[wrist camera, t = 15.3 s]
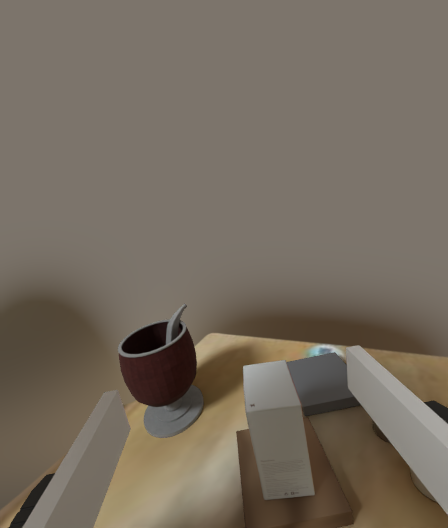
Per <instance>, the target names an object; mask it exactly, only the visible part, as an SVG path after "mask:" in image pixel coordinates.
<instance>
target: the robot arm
mask: <svg viewBox="0 0 448 528" xmlns="http://www.w3.org/2000/svg"><path fill="white" fill-rule="evenodd" d="M346 360H347V379H348V389H349V390H350V391H351V393H352V394H353V395H354V396H355V398H356V399H357V400H358V401H359V403H360V404H361V405H362V407H363V408H364V409H365V410H366V412H367V413H368V414H369V416H370V417H371V418H372V419H373V421H374V422H375V423H376V424H377V426H378V427H379V428H380V430H381V431H382V432H383V433H384V435H385V436H386V437H387V438H388V440H389V441H390V442H391V444H392V445H393V446H394V447H395V449H396V450H397V451H398V452H399V454H400V455H401V456H402V458H403V459H404V460H405V461H406V463H407V464H408V465H409V466H410V468H411V469H412V470H413V472H414V473H415V474H416V475H417V477H418V478H419V479H420V480H421V482H422V483H423V484H424V486H425V487H426V488H427V489H428V491H429V492H430V493H431V494H432V496H433V497H434V498H435V500H436V501H437V502H438V503H439V505H440V506H441V507H442V508H443V510H444V511H445V512H446V514H447V515H448V408H447V407H445V406H443V405H441V404H439V403H437V402H436V401H429V402H422V401H421V400H420V399H419V398H418V397H417V396H416V395H415V394H413V393H412V392H411V391H410V390H409V389H408V388H407V387H405V386H404V385H403V384H402V383H401V382H400V381H399V380H398V379H396V378H395V377H394V376H393V375H392V374H391V373H390V372H389V371H387V370H386V369H385V368H384V367H383V366H382V365H381V364H380V363H378V362H377V361H376V360H375V359H374V358H373V357H372V356H371V355H369V354H368V353H367V352H366V351H365V350H364V349H363V348H362V347H360V346H359V345H358V346H352V347H347V348H346ZM129 432H130V425H129V422H128V419H127V416H126V413H125V410H124V407H123V404H122V401H121V398H120V395H119V392H118V390H114V391H109V392H104V394H103V395H102V397H101V399H100V400H99V402H98V404H97V405H96V407H95V408H94V410H93V412H92V414H91V415H90V417H89V419H88V420H87V422H86V424H85V425H84V427H83V428H82V430H81V432H80V433H79V435H78V437H77V438H76V440H75V442H74V443H73V445H72V446H71V448H70V450H69V451H68V453H67V455H66V456H65V458H64V460H63V461H62V463H61V465H60V466H59V468H58V470H57V471H56V473H54V474H49V475H46V476H45V477H44V478H43V479H42V480H41V481H40V483H39V484H38V485H37V486H36V487H35V488H34V489H33V490H32V491H31V493H30V495H29V496H28V498H27V499H26V501H25V502H24V504H23V505H22V507H21V508H20V512H18V513H17V514H16V516H15V518H14V519H13V521H12V522H11V525H10V527H9V528H93V527H94V524H95V521H96V519H97V516H98V514H99V511H100V508H101V506H102V503H103V500H104V498H105V495H106V492H107V490H108V487H109V485H110V482H111V479H112V477H113V474H114V471H115V469H116V466H117V463H118V461H119V458H120V455H121V453H122V450H123V448H124V445H125V442H126V440H127V437H128V434H129Z"/></svg>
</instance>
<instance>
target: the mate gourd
mask: <svg viewBox="0 0 448 528" xmlns="http://www.w3.org/2000/svg"><path fill="white" fill-rule="evenodd" d="M186 307H187V305H186V304H184V305H183V306H182V307H180V308H179V309H178V311H177V312H176V313H175V314H174V315H173V316H172V318H171V319H170V320H162V321H158V322H154V323H151V324H148V325H146V326H143V327H141V328H139V329H137V330H135V331H134V332H132V333H131V334H129V335H128V336H127V337H125V338H124V339H123V340H122V341H121V343H120V344H119V346H118V352H119V360H120V367H121V372H122V375H123V378H124V381H125V383H126V385H127V387H128V389H129V390H130V392H131V394H132V395H133V396H134V397H135V399H136V400H137V401H138V402H140V403H143V404H146V405H149V406H148V407H147V409H146V411H145V415H144V425H145V428H146V430H147V432H148V433H149V434H150V435H152V436H154V437H158V438H167V437H171V436H175V435H177V434H179V433H181V432H183V431H184V430H186V429H187V428H189V427H190V426H191V425H192V424H193V423H194V422H195V421H196V420H197V418H198V417H199V415H200V413H201V411H202V409H203V404H204V399H203V395H202V392H201V391H200V389H198V388H197V387H196V386H194V385H191V384H192V382H193V380H194V378H195V375H196V366H197V361H196V352H195V348H194V344H193V341H192V338H191V336H190V334H189V331H188V329H187V327H186V325H185V323H184V322H183V321H181V320H180V317H181V315H182V312H183V311H184V309H185V308H186Z"/></svg>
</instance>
